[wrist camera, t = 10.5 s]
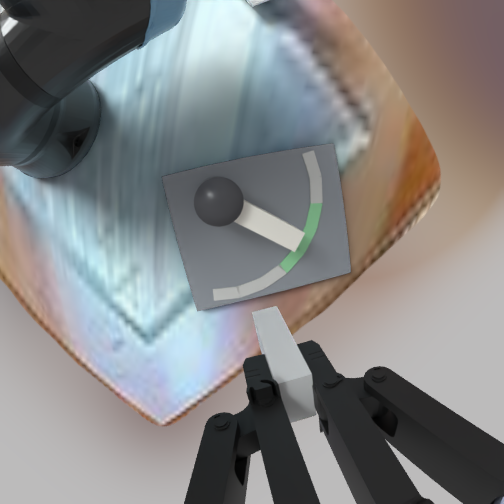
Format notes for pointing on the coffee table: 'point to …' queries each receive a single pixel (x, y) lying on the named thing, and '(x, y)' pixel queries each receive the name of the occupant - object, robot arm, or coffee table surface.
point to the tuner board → (253, 244)
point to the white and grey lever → (241, 212)
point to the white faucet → (255, 2)
